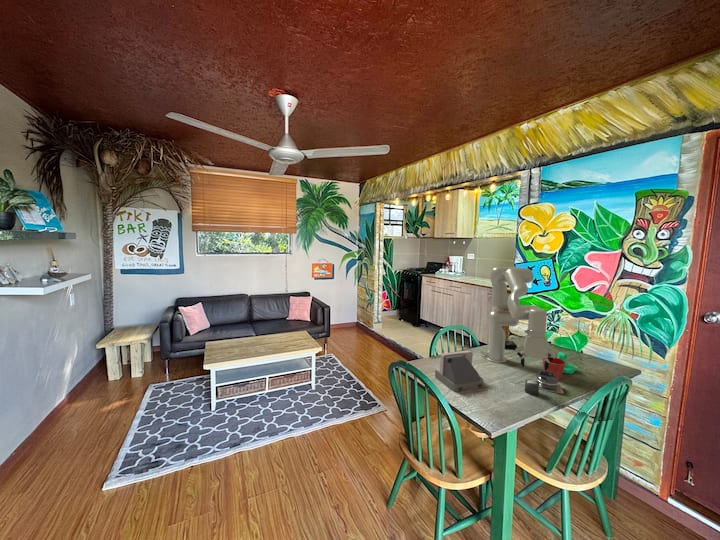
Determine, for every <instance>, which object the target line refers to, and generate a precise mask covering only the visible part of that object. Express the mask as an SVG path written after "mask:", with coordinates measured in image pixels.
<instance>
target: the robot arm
mask: <svg viewBox="0 0 720 540" xmlns="http://www.w3.org/2000/svg"><path fill="white" fill-rule="evenodd" d="M489 273H490V274H489V276H490V282H491V287H492V290H491V305H492V307H493V309H501V310H491V311H490V312H489V313H488V316H487V317H488V329H489V330H488V345H487V350H481V349H480V350H479V351H480V353H479V354H481V355H482V356H483V355H484V358H485V359H486V360H487V361H489V362H491V361H492V363H497V364H504V363H506V362H507V358H506V357H505V350H506V349H505V341H506V331H505V329H504V328H503V327H515V326H518V324H519V323H520V321H528V322H527V323H528V325H527V329H524V330H523V332H524V334H526V335H525V337H524V341H523V342H524V343H523V345H522V346H517V348H515V350H514V351H516V354H517V356H518V357H519V358H520V365H521V366H522V368H524V367H525V362H526V361H525V358H527V357H529V358H535V359H541V360H543V359H545V364H544V368H543V370H544V369H545V371H547V369H548V368H549V363H550V362H551V361H552V360H553V359H554V358H556V357H557V354H556V353H555V352H553V351H552V350H550V349H549V342H548V337H546V335H547V334H546V332H547V317H548V312H547V310H546V309H545V308H544V309H543V308H541V307H539V306H538V305H528V304H520V303H521V302H520V297H523V296H526V294H527V293H528V292H529V287H528V285H527V284H530V283H532V282H533V280H534V273H533V271H532V270H531V269H530V268H527V267H519V266H518V267H517V266H497V267H496V266H495V267H493V268H492V269H491V270H490V272H489ZM505 281H506V282H507V284H506V282H505ZM507 285H508V286H507ZM508 287H509V290H510V293H508ZM502 309H503V310H502ZM520 351H522V352H523V353H521V352H520ZM549 354H550V356H549ZM548 357H549V358H548Z"/></svg>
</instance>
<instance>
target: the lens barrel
mask: <svg viewBox="0 0 720 540" xmlns="http://www.w3.org/2000/svg"><path fill="white" fill-rule="evenodd" d="M531 380H535V381H537V382H539V391H540V390H541V391H546V392H550V393H556V394H561V395H564V394H565V392H564V391H563V389H562V387H561V385H560V383H559V380H558V378H557V377H555V376H554V373H552V372H549V371H544V369H543V370H539V371H538V373H537V374H536V379H533V378H531Z"/></svg>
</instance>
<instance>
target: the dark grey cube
mask: <svg viewBox="0 0 720 540" xmlns="http://www.w3.org/2000/svg"><path fill="white" fill-rule="evenodd" d="M531 379H532V378H531ZM531 379H530V378H529V379H528V378H527V379H525V383H524V392H525V394H528V395H530V396H539V393H540V389H539V382H537V381H535V380H536V379H535V380H531Z"/></svg>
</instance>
